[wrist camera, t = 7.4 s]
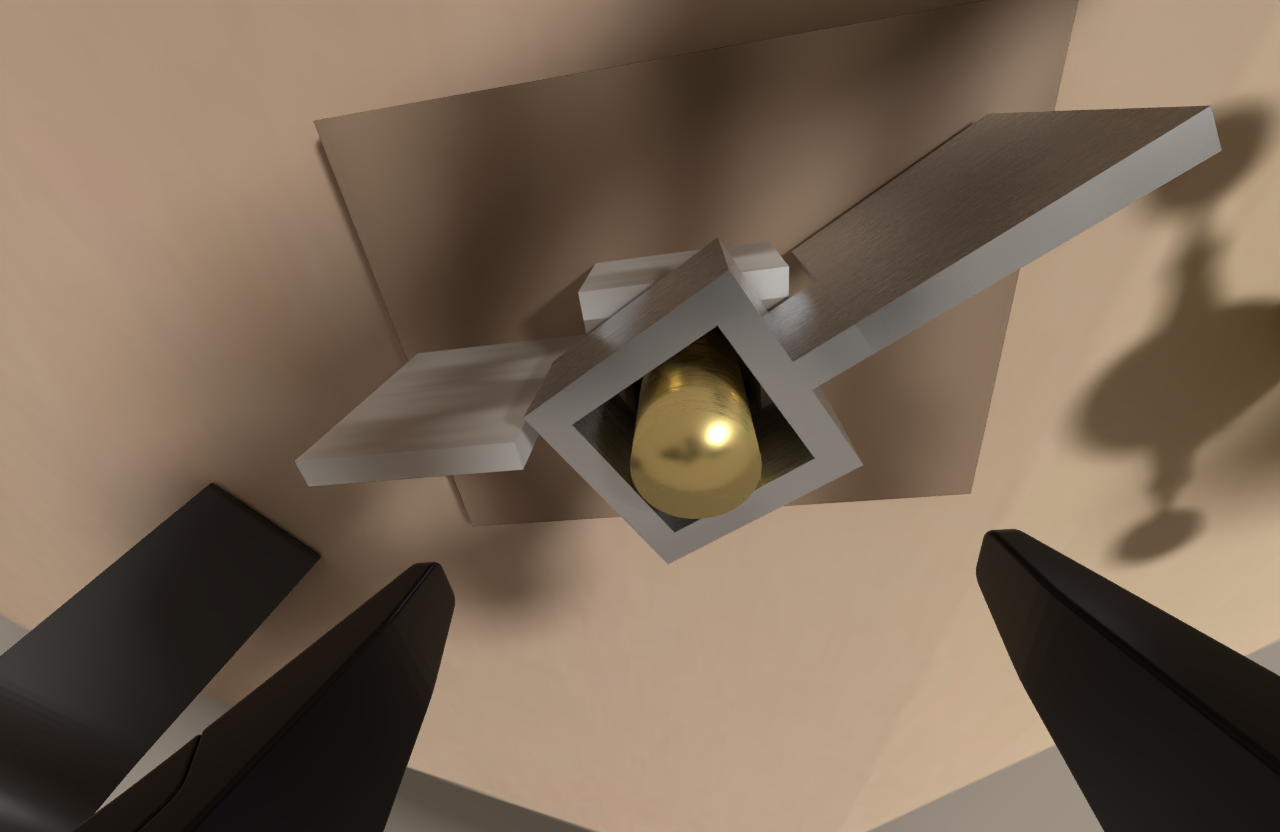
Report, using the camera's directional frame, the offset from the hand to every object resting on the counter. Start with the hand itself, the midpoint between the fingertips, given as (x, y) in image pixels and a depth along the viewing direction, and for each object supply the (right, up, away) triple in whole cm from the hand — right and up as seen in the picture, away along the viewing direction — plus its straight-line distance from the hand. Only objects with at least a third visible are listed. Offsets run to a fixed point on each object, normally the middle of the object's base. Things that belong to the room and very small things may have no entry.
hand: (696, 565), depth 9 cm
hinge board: (+1, +6, +10) cm, 12 cm away
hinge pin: (+1, +5, +9) cm, 11 cm away
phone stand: (-22, -5, +18) cm, 29 cm away
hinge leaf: (+4, +7, +8) cm, 11 cm away
